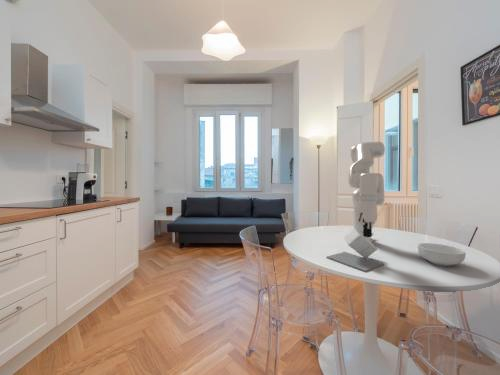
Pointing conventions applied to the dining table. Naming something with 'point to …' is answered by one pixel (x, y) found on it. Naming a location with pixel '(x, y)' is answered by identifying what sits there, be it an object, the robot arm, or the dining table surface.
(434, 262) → the cereal bowl
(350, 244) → the supplement box
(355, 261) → the mat
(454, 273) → the dining table surface
